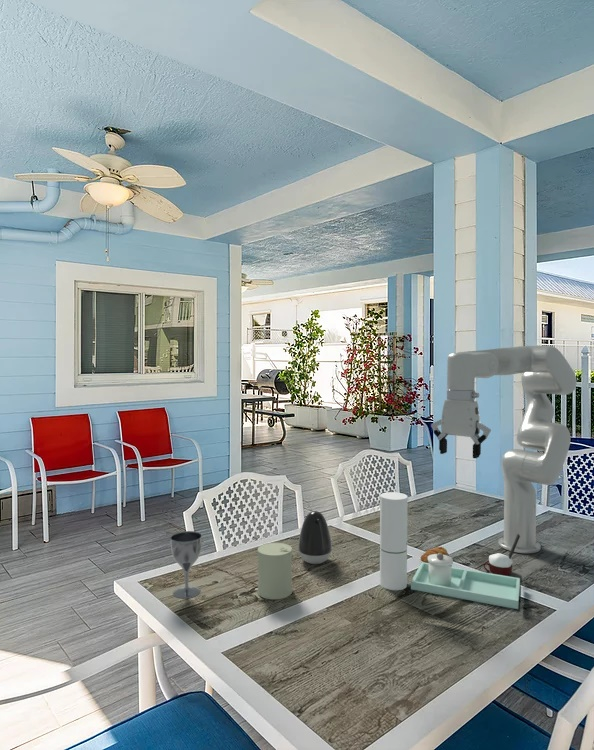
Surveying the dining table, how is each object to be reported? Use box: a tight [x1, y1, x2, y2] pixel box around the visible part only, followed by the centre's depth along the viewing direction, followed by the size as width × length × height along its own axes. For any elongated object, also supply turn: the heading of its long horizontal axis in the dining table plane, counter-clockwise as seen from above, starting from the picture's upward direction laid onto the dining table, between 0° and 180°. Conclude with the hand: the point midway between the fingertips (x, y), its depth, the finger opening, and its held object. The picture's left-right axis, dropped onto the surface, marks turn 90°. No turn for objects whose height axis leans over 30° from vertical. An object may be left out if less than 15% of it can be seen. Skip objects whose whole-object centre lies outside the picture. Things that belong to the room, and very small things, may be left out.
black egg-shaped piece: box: [297, 510, 333, 565], centre depth 159 cm, size 10×10×15 cm
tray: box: [410, 561, 521, 610], centre depth 139 cm, size 14×26×3 cm, turn 66°
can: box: [256, 542, 293, 600], centre depth 139 cm, size 9×9×12 cm
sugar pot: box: [428, 553, 454, 587], centre depth 142 cm, size 7×7×8 cm
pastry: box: [420, 546, 451, 563], centre depth 159 cm, size 9×7×4 cm
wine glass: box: [170, 530, 203, 600], centre depth 138 cm, size 8×8×15 cm
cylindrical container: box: [379, 491, 408, 591], centre depth 140 cm, size 7×7×25 cm
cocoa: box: [483, 534, 520, 577], centre depth 148 cm, size 10×6×12 cm, turn 56°
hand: (459, 455), depth 151 cm, fingers open, 9 cm apart
